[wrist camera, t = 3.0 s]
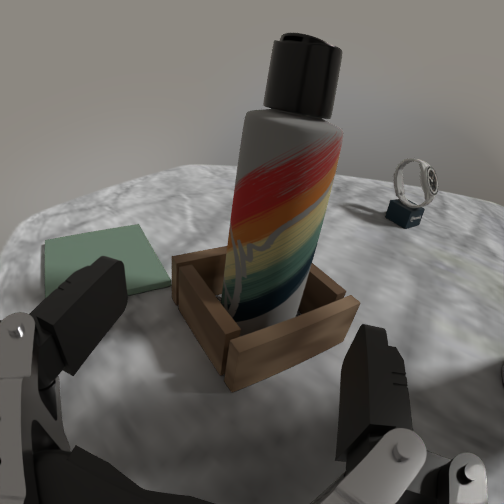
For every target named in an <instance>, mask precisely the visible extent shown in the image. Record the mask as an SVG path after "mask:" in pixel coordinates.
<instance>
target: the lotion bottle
mask: <svg viewBox="0 0 504 504" xmlns="http://www.w3.org/2000/svg"><path fill="white" fill-rule="evenodd" d="M341 59H342V50H341V49H340V48H338V47H336V46H333V45H330V44H329V43H327V42H325V41H323V40H321V39H318V38H316V37H313V36H309V35H306V34H300V33H286V34H283V35H282V36H281V38H280V41H276V40H275V41H274V44H273V49H272V55H271V61H270V67H269V73H268V79H267V85H266V91H265V97H264V106H265V107H269V108H271V109H266V110H254V111H249V112H247V113H246V116H245V120H244V126H243V132H242V139H241V146H240V153H239V160H238V167H237V175H236V182H235V190H234V198H233V205H232V213H231V221H230V229H229V237H228V246H227V254H226V263H225V271H224V280H223V289H222V298H221V304H222V305H223V307H224V308H225V309H226V311H227V312H228V313H229V315H230V316H231V317H232V318H233V320H234V321H235V322H236V324H237V325H238V326H239V327H240V329H241V332H240V337H241V336H244V335H247V334H249V333H252V332H255V331H258V330H261V329H264V328H267V327H269V326H272V325H275V324H278V323H280V322H283V321H286V320H289V319H291V318H294V317H296V314H297V311H298V308H299V305H300V301H301V298H302V295H303V291H304V288H305V285H306V281H307V278H308V274H309V271H310V267H311V264H312V260H313V257H314V253H315V250H316V246H317V242H318V239H319V235H320V231H321V228H322V224H323V220H324V216H325V212H326V208H327V205H328V201H329V197H330V193H331V189H332V185H333V180H334V176H335V172H336V168H337V163H338V159H339V154H340V150H341V145H342V140H343V131H342V129H340V128H339V127H337V126H335V125H333V124H331V123H329V122H327V121H325V120H323V119H322V118H324V119H330V118H331V115H332V110H333V105H334V99H335V94H336V88H337V82H338V77H339V71H340V65H341Z"/></svg>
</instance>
